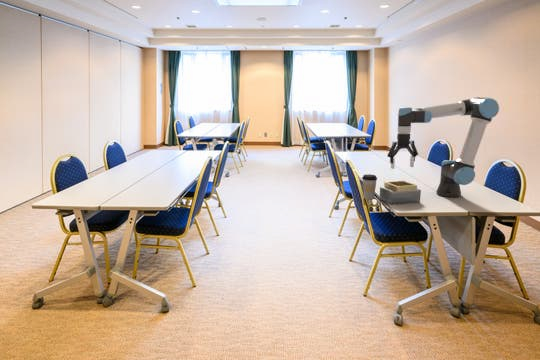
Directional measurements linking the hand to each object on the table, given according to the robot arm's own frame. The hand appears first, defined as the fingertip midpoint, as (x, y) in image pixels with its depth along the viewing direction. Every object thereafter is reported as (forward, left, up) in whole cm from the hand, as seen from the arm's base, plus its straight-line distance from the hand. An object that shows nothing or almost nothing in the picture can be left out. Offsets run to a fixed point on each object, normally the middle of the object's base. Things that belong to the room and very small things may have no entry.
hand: (402, 167), depth 268 cm
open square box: (0, 0, -21) cm, 21 cm away
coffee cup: (+16, -10, -21) cm, 29 cm away
